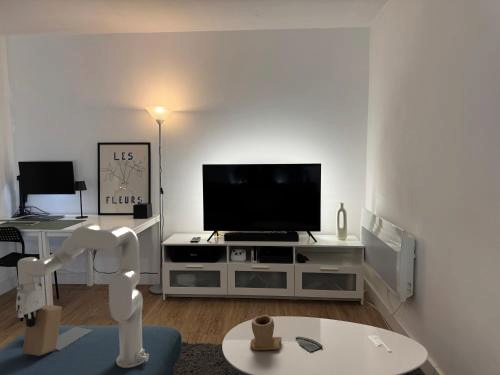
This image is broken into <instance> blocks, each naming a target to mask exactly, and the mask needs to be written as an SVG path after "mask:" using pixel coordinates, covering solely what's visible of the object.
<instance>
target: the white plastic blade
mask: <svg viewBox="0 0 500 375" xmlns="http://www.w3.org/2000/svg"><path fill="white" fill-rule="evenodd" d="M367 337H368V338H369V339H370V341H372V343H373V344H374V345H375V346H376V347H383V348H384V349H385V350H386V351H387V353H392V350H391V349H390V348H389V346H387V345H386V344H385V343H384V341H383V340H382V339H381V338H380V337H379V336H378V334H370V335H368V336H367Z"/></svg>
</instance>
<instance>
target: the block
mask: <svg viewBox="0 0 500 375" xmlns="http://www.w3.org/2000/svg"><path fill="white" fill-rule="evenodd" d="M62 309H63V308H62V306H60V305H50V304H44V306H43V307H42V308H40V309H39V310H38V312H37V313H36V316H35V326H33V327H27V326H26V327H25V331H24V332H25V334H24V339H23V345H22V350H21V352H22V354H23V355H24V354H25V355H31V356H38V357H41V356H43V355H45V354H49V353H51V352H53V351H57V350H56V346H57V339H58V336H59V330H60V323H61V316H62Z"/></svg>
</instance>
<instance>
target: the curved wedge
mask: <svg viewBox="0 0 500 375" xmlns="http://www.w3.org/2000/svg"><path fill="white" fill-rule="evenodd" d="M294 338H295V340H296V341H297V343H298V346H299V347H301V348H302V349H304V350H305V351H307V352H308V353H310V354H311V353H314V352H317V351H318V350H320V349H323V345H322V344H321V343H320V342H318V341H317V340H314V339H311V338H308V337H305V336H295V337H294Z"/></svg>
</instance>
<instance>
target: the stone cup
mask: <svg viewBox="0 0 500 375" xmlns="http://www.w3.org/2000/svg"><path fill="white" fill-rule="evenodd" d="M251 330H252V334H253V335H254V336H253V338H252V339H251V340H250V348H251V349H252V350H255V351H256V350H257V351H268V350H279V349H280V347H281V344H282V338H283V337H282V336H273V335H274V330H275V321H274V319H273V318H272V317H271V316H270V315H267V314H263V315H257V316H256V317H254V318H253V319H252V321H251Z"/></svg>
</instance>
